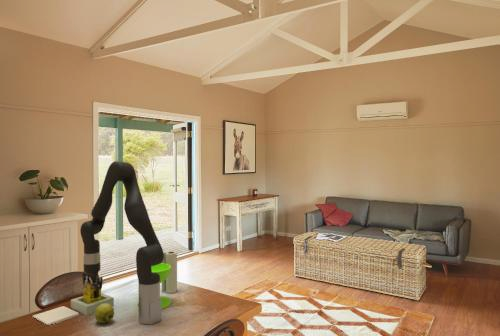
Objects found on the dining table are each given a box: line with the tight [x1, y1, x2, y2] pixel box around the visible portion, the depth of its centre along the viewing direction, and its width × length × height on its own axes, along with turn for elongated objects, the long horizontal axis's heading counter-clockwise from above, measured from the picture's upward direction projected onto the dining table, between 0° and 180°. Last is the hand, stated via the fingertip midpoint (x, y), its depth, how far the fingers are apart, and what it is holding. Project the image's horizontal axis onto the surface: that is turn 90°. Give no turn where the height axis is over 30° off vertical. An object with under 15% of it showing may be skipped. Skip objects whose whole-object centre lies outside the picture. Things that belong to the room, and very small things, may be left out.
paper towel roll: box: [161, 250, 178, 294], centre depth 203 cm, size 7×6×21 cm
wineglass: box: [137, 263, 172, 310], centre depth 186 cm, size 16×16×18 cm
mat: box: [32, 305, 80, 326], centre depth 171 cm, size 14×14×1 cm
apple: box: [94, 303, 115, 324], centre depth 165 cm, size 8×9×8 cm
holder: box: [70, 292, 115, 316], centre depth 182 cm, size 14×14×4 cm
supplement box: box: [83, 283, 102, 304], centre depth 182 cm, size 6×6×11 cm
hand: (92, 296), depth 182 cm, fingers closed on supplement box, 6 cm apart
